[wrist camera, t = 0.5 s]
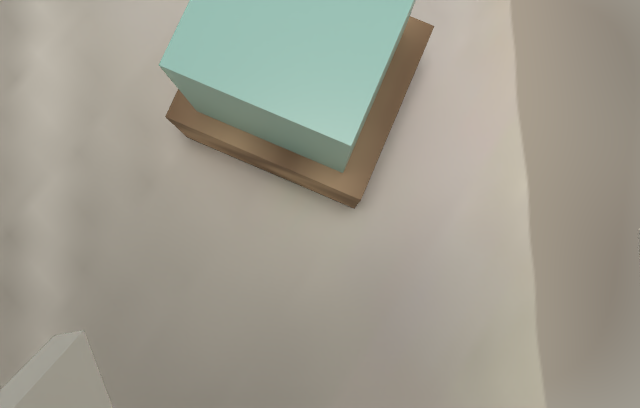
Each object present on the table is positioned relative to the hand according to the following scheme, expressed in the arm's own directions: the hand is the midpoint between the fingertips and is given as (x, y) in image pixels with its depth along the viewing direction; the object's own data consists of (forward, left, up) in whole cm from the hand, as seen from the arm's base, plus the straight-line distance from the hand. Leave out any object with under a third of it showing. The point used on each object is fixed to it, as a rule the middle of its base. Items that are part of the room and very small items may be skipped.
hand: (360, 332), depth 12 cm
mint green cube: (-11, +6, -16) cm, 20 cm away
